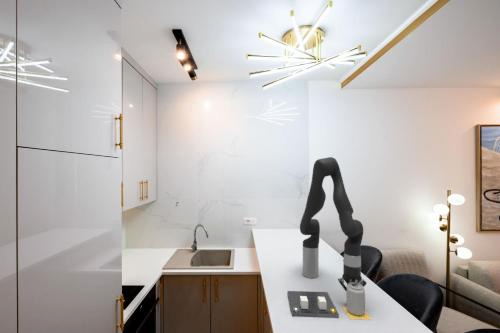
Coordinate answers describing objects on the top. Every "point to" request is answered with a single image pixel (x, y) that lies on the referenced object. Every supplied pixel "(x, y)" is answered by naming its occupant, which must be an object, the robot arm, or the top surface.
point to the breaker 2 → (322, 303)
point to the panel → (311, 304)
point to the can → (355, 298)
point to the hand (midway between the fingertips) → (351, 300)
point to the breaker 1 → (303, 302)
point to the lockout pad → (351, 316)
